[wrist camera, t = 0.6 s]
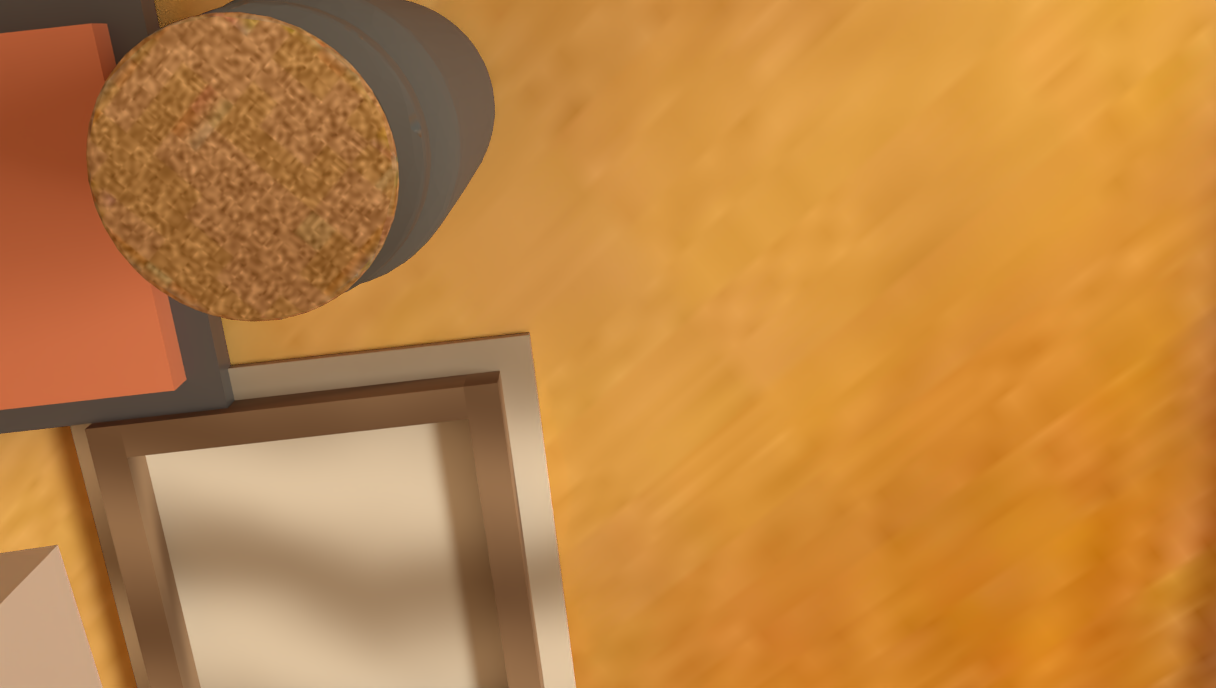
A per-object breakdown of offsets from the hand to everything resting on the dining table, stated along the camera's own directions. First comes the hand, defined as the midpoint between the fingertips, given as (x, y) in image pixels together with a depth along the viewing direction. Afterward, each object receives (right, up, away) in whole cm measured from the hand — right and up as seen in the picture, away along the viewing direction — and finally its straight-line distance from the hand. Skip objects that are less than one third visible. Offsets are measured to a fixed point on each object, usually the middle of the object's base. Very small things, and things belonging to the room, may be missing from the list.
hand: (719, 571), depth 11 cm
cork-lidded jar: (-7, +9, +20) cm, 23 cm away
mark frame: (-10, -5, +24) cm, 26 cm away
